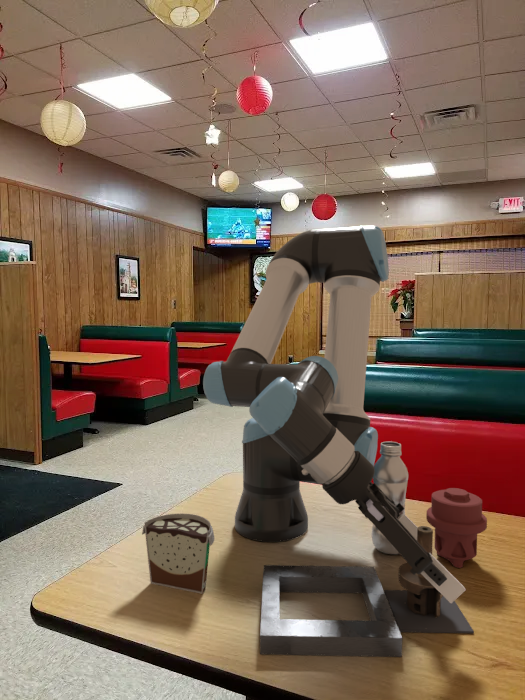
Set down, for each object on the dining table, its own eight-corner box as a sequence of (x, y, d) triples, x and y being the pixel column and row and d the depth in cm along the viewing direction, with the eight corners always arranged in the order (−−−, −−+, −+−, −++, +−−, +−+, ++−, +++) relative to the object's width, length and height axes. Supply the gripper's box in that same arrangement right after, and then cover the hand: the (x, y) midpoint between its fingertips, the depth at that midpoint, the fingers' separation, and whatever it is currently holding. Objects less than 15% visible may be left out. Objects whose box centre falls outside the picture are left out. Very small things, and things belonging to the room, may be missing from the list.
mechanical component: (478, 549, 92) (492, 576, 82) (422, 544, 94) (429, 570, 84) (480, 484, 91) (494, 504, 81) (423, 480, 93) (430, 499, 83)
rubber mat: (384, 591, 77) (384, 589, 77) (448, 592, 77) (448, 590, 77) (399, 632, 67) (400, 629, 67) (473, 633, 67) (473, 631, 67)
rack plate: (263, 579, 81) (263, 565, 81) (373, 581, 80) (374, 566, 80) (260, 654, 63) (260, 635, 63) (401, 656, 62) (402, 638, 62)
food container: (226, 576, 82) (226, 517, 81) (211, 595, 76) (210, 532, 76) (162, 564, 86) (161, 508, 85) (142, 581, 80) (141, 522, 80)
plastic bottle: (388, 562, 87) (390, 450, 85) (363, 546, 93) (365, 442, 91) (415, 554, 90) (417, 446, 88) (390, 539, 96) (391, 438, 94)
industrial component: (392, 592, 76) (393, 517, 76) (439, 593, 76) (440, 517, 76) (409, 631, 67) (410, 545, 66) (462, 631, 67) (464, 545, 66)
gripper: (312, 460, 84) (399, 547, 84) (329, 519, 59) (452, 642, 59) (344, 429, 83) (431, 517, 84) (374, 476, 58) (497, 600, 59)
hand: (440, 569), depth 72 cm, fingers open, 13 cm apart
